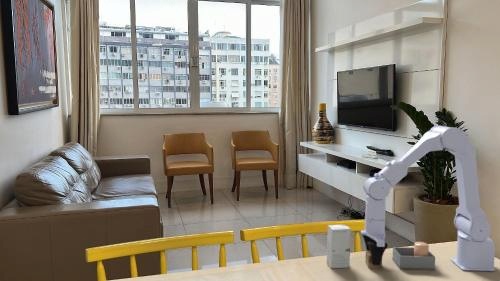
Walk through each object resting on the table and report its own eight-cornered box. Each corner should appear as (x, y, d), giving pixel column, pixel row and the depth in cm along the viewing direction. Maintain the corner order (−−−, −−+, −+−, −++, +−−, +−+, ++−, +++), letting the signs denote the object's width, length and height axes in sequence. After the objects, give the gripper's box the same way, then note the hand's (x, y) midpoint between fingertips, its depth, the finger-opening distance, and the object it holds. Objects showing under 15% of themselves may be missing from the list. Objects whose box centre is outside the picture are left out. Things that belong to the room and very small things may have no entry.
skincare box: (331, 268, 113) (331, 229, 112) (326, 262, 118) (326, 224, 117) (350, 267, 114) (351, 228, 113) (344, 261, 119) (345, 223, 117)
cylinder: (424, 260, 118) (425, 241, 117) (430, 266, 114) (430, 246, 113) (411, 260, 118) (412, 241, 118) (416, 265, 114) (417, 246, 114)
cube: (378, 262, 118) (378, 250, 117) (381, 268, 114) (382, 255, 113) (365, 262, 118) (365, 250, 118) (368, 268, 114) (368, 255, 114)
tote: (425, 260, 119) (425, 247, 119) (434, 269, 113) (435, 257, 112) (392, 259, 120) (392, 247, 120) (399, 269, 113) (400, 256, 113)
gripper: (356, 210, 122) (355, 251, 123) (367, 225, 107) (366, 270, 109) (378, 210, 121) (377, 251, 123) (392, 225, 107) (391, 271, 108)
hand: (373, 260), depth 116 cm, fingers open, 5 cm apart
